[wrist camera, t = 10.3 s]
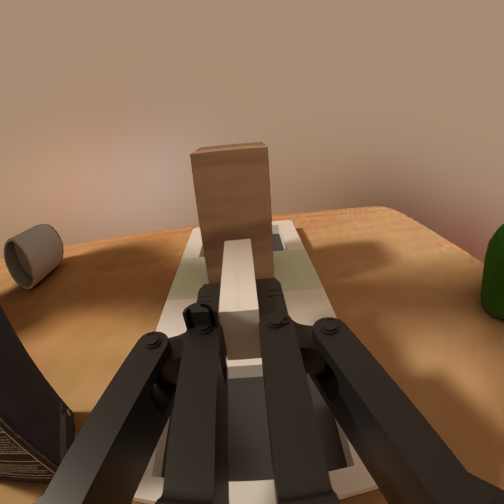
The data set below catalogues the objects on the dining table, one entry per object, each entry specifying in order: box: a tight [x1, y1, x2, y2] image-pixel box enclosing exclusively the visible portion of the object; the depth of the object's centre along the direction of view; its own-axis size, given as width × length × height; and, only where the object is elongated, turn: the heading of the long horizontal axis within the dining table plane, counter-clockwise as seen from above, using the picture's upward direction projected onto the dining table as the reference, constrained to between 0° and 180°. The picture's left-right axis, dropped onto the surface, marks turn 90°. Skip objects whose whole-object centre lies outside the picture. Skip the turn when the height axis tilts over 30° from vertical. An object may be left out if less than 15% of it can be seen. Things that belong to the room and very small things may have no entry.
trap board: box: [132, 220, 379, 504], centre depth 24 cm, size 35×14×2 cm, turn 2°
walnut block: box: [190, 142, 274, 284], centre depth 26 cm, size 6×6×12 cm
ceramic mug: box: [4, 224, 63, 289], centre depth 31 cm, size 11×8×8 cm
